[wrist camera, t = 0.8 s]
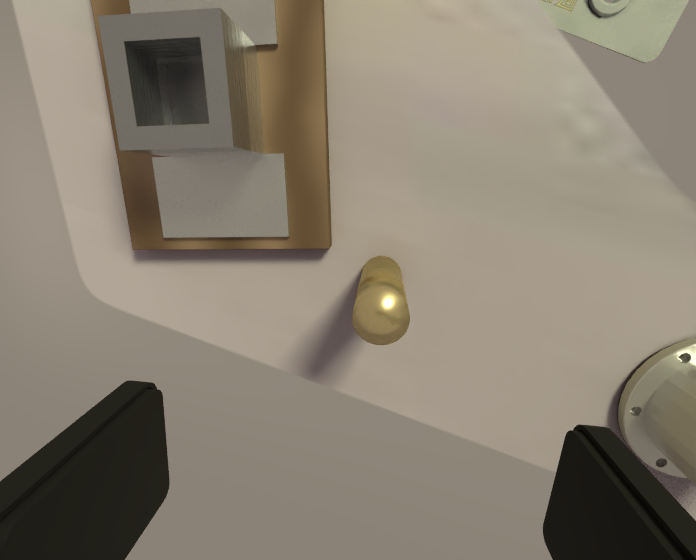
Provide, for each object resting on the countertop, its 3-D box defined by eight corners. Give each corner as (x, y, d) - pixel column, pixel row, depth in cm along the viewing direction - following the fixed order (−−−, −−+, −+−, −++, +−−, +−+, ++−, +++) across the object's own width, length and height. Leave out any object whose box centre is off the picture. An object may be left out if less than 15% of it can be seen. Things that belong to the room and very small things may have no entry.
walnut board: (321, -68, 25) (317, -83, 23) (331, 245, 30) (329, 248, 29) (97, -49, 26) (80, -62, 25) (144, 246, 32) (132, 249, 30)
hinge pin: (401, 255, 30) (410, 291, 20) (400, 294, 31) (409, 345, 21) (361, 255, 30) (351, 290, 21) (361, 294, 31) (352, 344, 21)
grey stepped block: (272, -60, 24) (237, -136, 18) (290, 235, 29) (266, 249, 23) (125, -48, 25) (47, -117, 19) (166, 236, 30) (114, 250, 24)
